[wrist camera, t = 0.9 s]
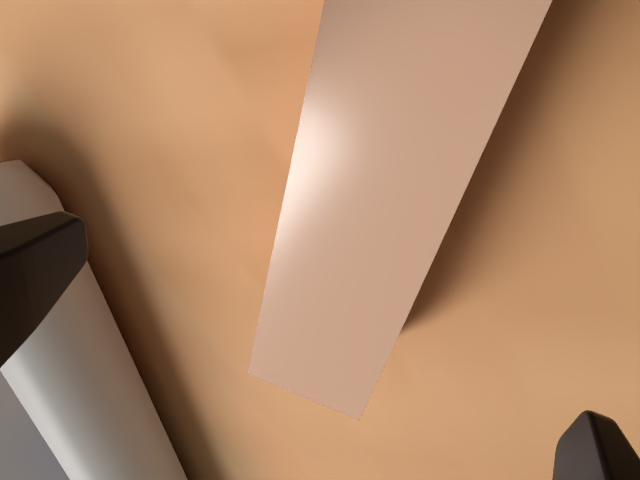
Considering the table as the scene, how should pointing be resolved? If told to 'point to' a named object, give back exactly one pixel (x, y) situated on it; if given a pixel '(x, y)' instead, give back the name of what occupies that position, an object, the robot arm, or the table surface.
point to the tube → (82, 369)
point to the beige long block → (379, 180)
